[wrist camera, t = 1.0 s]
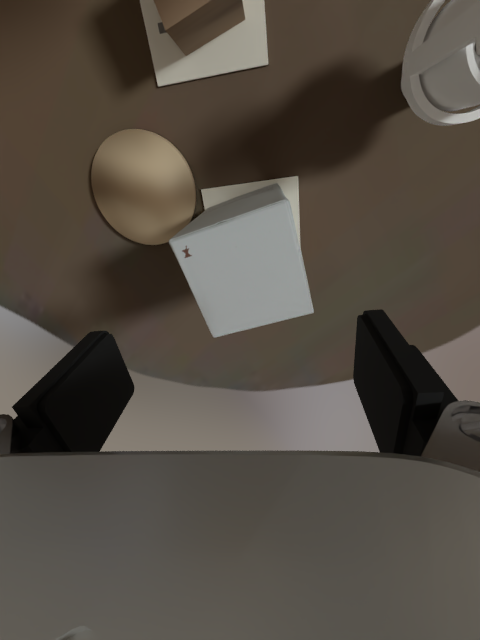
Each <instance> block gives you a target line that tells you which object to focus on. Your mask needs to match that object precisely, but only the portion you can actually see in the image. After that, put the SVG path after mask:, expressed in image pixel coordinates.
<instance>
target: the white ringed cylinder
mask: <svg viewBox="0 0 480 640" xmlns="http://www.w3.org/2000/svg"><path fill="white" fill-rule="evenodd" d="M444 2H445V0H431V2H430V3H429V4H428V5H427V7H426V8H425V9H424V11H423V12H422V14H421V16H420V17H419V19H418V21H417V22H416V24H415V26H414V28H413V30H412V33H411V35H410V38H409V40H408V43H407V46H406V50H405V54H404V59H403V66H402V78H401V90H402V93H403V95H404V97H405V98H406V100H407V102H408V104H409V106H410V107H411V109H412V110H413V112H414V113H415V114H416V115H417V116H418V117H420V118H421V119H423V120H424V121H426V122H428V123H431V124H435V125H443V126H447V125H455V124H460V123H465V122H470V121H473V120H476V119H478V118H480V106H478V107H477V108H475V109H473V110H471V111H469V112H466V113H463V114H451V113H446V112H443V111H456V110H461V109H464V108H468V107H472V106H476V105H479V104H480V0H451V1H450V2H449V3H448V4H447V5H446V6H445V7H444V8H443V9H442V10H441V11H440V12H439V13H438V14H437V16H436V17H435V18H434V16H435V14H436V13H437V11H438V10H439V8H440V7H441V5H442V4H443V3H444ZM433 18H434V20H433V21H432V19H433ZM431 21H432V23H431ZM430 23H431V24H430ZM429 25H430V26H429ZM441 110H442V111H441Z"/></svg>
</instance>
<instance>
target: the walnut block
mask: <svg viewBox="0 0 480 640" xmlns="http://www.w3.org/2000/svg"><path fill="white" fill-rule="evenodd" d="M154 3H155V5H156V8H157V10H158V13H159V15H160V18H161V20H162V23H163V26H164V28H165V31H166V32H167V33H168V34H169V36H170V37H171V38H172V39H173V41H174V42H175V43H176V44H177V46H178V47H179V48H180V49H181V51H182V52H183V53H184V54H185V56H187V55H189V54H191V53H192V52H194V51H195V50H197V49H199V48H200V47H202V46H203V45H205V44H207V43H208V42H210V41H212V40H213V39H215V38H216V37H218V36H220V35H221V34H223V33H224V32H226V31H228V30H229V29H231V28H233V27H234V26H236V25H237V24H239V23H241V22H242V21H244V20H245V14H244V8H243V2H242V0H154Z"/></svg>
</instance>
